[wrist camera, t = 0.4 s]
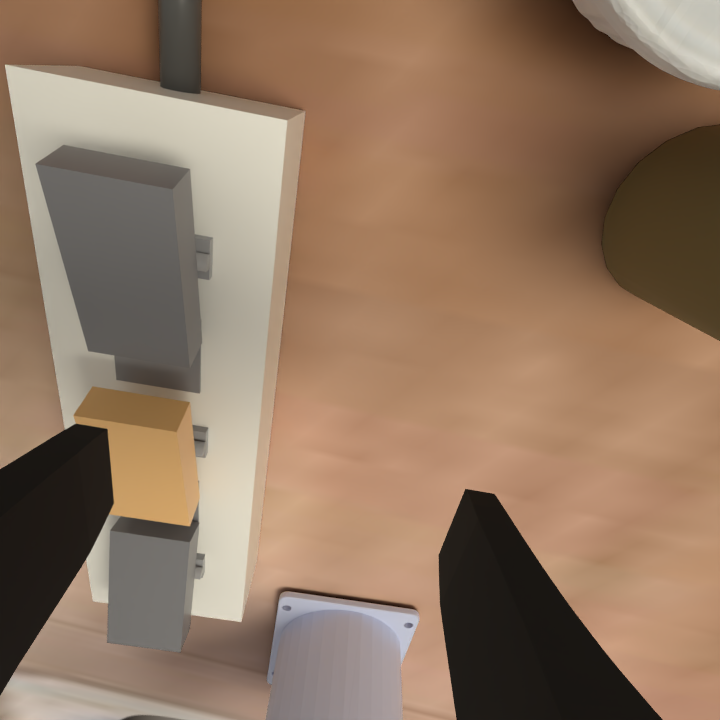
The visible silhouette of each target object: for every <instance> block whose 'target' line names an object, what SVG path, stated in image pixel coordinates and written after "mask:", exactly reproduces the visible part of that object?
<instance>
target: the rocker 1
mask: <svg viewBox="0 0 720 720" xmlns="http://www.w3.org/2000/svg"><path fill="white" fill-rule="evenodd" d="M35 165H36V168H37V172H38V175H39V179H40V182H41V186H42V190H43V193H44V197H45V200H46V204H47V207H48V211H49V214H50V218H51V221H52V225H53V228H54V232H55V235H56V239H57V243H58V246H59V250H60V253H61V257H62V260H63V264H64V267H65V271H66V274H67V278H68V281H69V285H70V289H71V292H72V296H73V299H74V303H75V306H76V310H77V313H78V317H79V320H80V324H81V327H82V331H83V334H84V338H85V342H86V345H87V349H88V351H90V352H96V353H102V354H108V355H114V356H120V357H126V358H132V359H138V360H144V361H150V362H156V363H162V364H168V365H174V366H180V367H186V368H190V367H191V365H192V363H193V361H194V359H195V357H196V355H197V352H198V350H199V348H200V346H201V344H202V331H201V316H200V302H199V288H198V274H197V259H196V245H195V231H194V217H193V202H192V188H191V174H190V169H188V168H183V167H178V166H172V165H167V164H162V163H157V162H151V161H146V160H141V159H135V158H130V157H125V156H120V155H114V154H109V153H104V152H99V151H93V150H88V149H83V148H78V147H72V146H67V145H62V146H61V147H59V148H58V149H57V150H55V151H54V152H52V153H51V154H49V155H48V156H46V157H45V158H43V159H42V160H40V161H39V162H37V163H36V164H35Z"/></svg>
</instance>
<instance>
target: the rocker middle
mask: <svg viewBox="0 0 720 720" xmlns="http://www.w3.org/2000/svg"><path fill="white" fill-rule="evenodd" d="M73 417H74V419H75V422H76V424H82V425H88V426H94V427H100V428H106V429H108V440H109V451H110V463H111V474H112V485H113V497H114V504H113V507H112V509H111V511H110V513H109V514H110V515H117V516H124V517H130V518H137V519H144V520H150V521H157V522H164V523H170V524H177V525H184V526H190V525H191V522H192V519H193V516H194V513H195V511H196V508H197V505H198V502H199V499H200V493H199V484H198V474H197V465H196V455H195V445H194V436H193V426H192V416H191V407H190V402H186V401H180V400H174V399H167V398H161V397H155V396H149V395H143V394H137V393H131V392H125V391H119V390H112V389H106V388H100V387H94V386H92V388H91V389H90V391H89V392H88V394H87V395H86V397H85V398H84V400H83V401H82V403H81V404H80V406H79V407H78V409H77V410H76V412H75V413H74V415H73Z"/></svg>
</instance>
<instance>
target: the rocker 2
mask: <svg viewBox="0 0 720 720" xmlns="http://www.w3.org/2000/svg"><path fill="white" fill-rule="evenodd" d="M199 524H200V522H193V521H192V522H191V525H190V526H184V525H177V524H170V523H164V522H157V521H150V520H144V519H137V518H130V517H124V516H120V518H119V519H118V520H117V522H116V523H115V524H114V526H113V527H112V528H111V530H110V549H109V591H108V634H107V643H114V644H121V645H128V646H136V647H143V648H151V649H158V650H165V651H173V652H181V650H182V647H183V645H184V642H185V640H186V637H187V634H188V632H189V629H190V622H191V611H192V600H193V589H194V578H195V567H196V556H197V545H198V535H199Z"/></svg>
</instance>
